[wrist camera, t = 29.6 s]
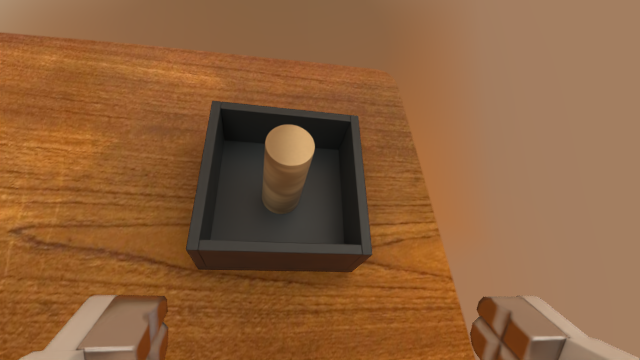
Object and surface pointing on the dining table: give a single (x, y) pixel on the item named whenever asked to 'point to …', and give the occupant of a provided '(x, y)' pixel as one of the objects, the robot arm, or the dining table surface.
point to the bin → (249, 210)
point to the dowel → (285, 167)
